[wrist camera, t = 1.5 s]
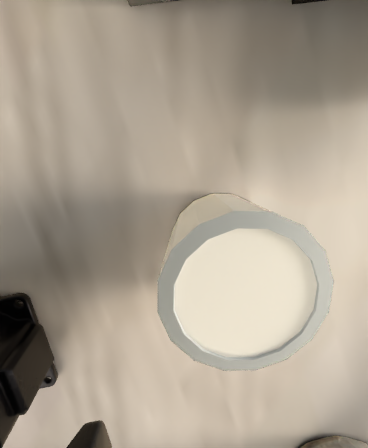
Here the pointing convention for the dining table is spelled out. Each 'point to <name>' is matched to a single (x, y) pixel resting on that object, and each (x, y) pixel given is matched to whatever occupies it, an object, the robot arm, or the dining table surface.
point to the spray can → (335, 443)
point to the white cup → (241, 284)
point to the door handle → (142, 0)
